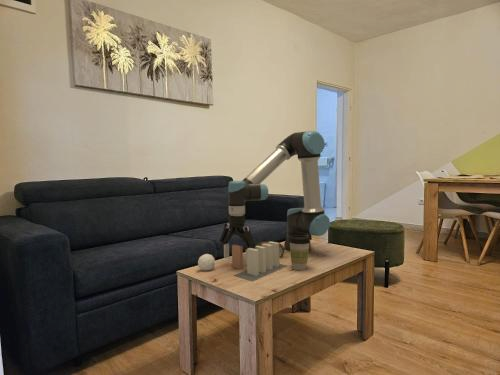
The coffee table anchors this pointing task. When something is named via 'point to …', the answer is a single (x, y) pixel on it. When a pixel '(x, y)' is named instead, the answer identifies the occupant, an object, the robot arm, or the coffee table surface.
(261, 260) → the domino
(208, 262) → the geometric ball
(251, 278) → the mat
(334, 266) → the coffee table surface
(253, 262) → the domino
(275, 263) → the domino
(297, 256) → the coffee cup
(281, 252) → the tin
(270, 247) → the domino
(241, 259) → the domino
